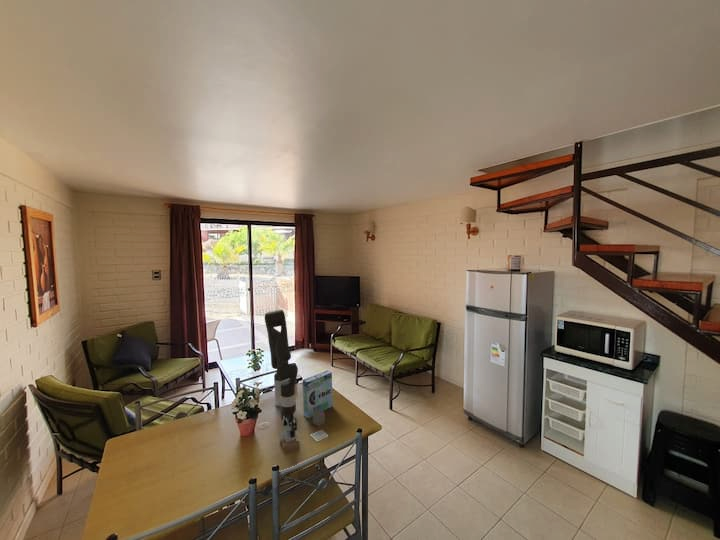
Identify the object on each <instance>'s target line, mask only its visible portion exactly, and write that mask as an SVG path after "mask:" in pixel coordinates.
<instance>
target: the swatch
mask: <svg viewBox="0 0 720 540" xmlns="http://www.w3.org/2000/svg"><path fill="white" fill-rule="evenodd" d="M310 437H311V438H313V440H314V441H315V442H317V443H318V442H321V440H324V439H327V438H328V437H329V435H328V434H327V433H326V432H325V430H323V429H320V430H318V431H316V432H314V433H311V434H310Z"/></svg>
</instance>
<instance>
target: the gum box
mask: <svg viewBox="0 0 720 540" xmlns="http://www.w3.org/2000/svg"><path fill="white" fill-rule="evenodd" d="M302 394H303V395H302V397H303V399H302V400H303V405H302V406H303V416H304V418H306V419H310V418H313V413H314V412H316V411H317V410H321V411H323V412H325V411H326V410H328V409H330V408H332V407H333V405H334V404H333V372H332V371H330V370H326V371H322V372H320V373H318V374H315V375H312V376H310V377H308V378H304V379H302Z"/></svg>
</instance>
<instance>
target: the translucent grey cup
mask: <svg viewBox="0 0 720 540" xmlns="http://www.w3.org/2000/svg"><path fill="white" fill-rule="evenodd" d="M325 415H326V412H325V411H321V410H317V411H316V412H314V413H313V416H312V424H313V425H316V426H318V427H321V425H323V424H324V423H326V416H325Z"/></svg>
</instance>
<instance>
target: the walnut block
mask: <svg viewBox="0 0 720 540" xmlns="http://www.w3.org/2000/svg"><path fill="white" fill-rule="evenodd" d="M279 445H280V447H281V449H282V452H283V453H284V454H285V453H287V452H290V451H291V452H292V451H293V450H296V449H298V448H300V439H299V437H298V435H297V434H296V439H295V440H292V441H290V442H288V443H287V442H286V441H285V440H284V439H283V435H281V436H279Z"/></svg>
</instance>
